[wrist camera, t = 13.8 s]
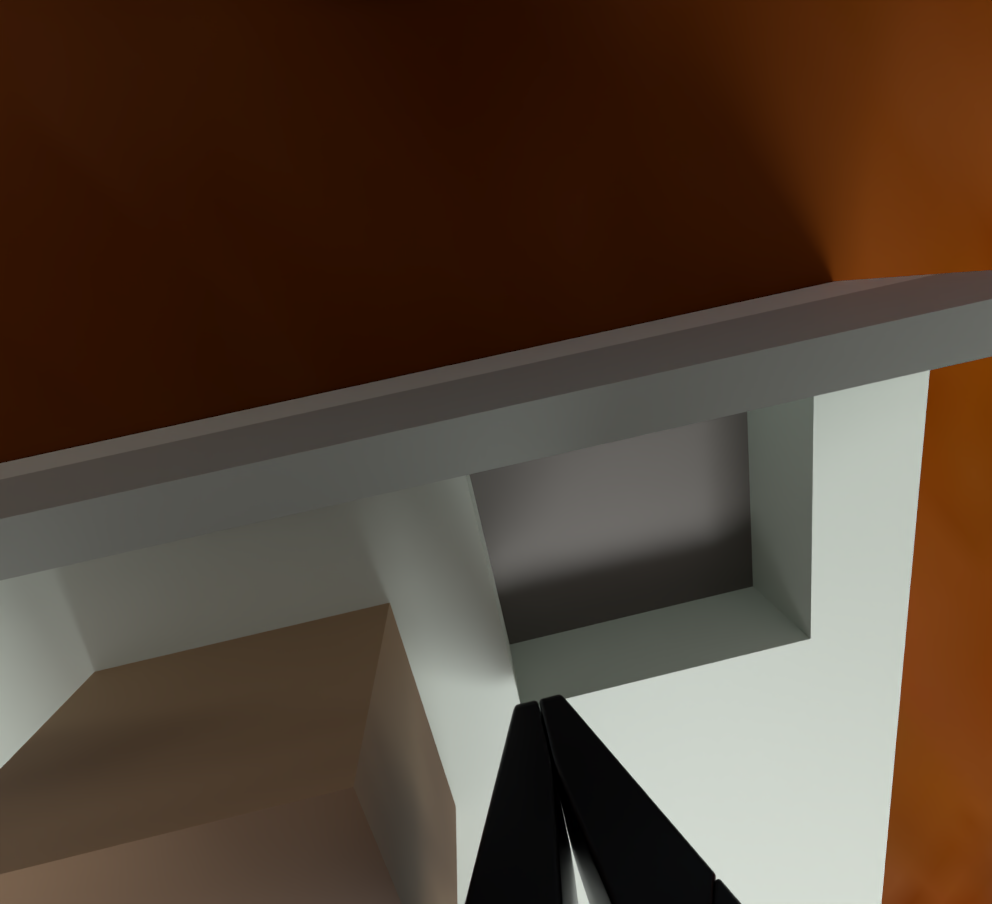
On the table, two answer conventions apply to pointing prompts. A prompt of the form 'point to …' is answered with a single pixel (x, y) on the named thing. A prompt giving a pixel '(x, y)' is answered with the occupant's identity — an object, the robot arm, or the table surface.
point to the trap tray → (556, 557)
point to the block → (237, 779)
